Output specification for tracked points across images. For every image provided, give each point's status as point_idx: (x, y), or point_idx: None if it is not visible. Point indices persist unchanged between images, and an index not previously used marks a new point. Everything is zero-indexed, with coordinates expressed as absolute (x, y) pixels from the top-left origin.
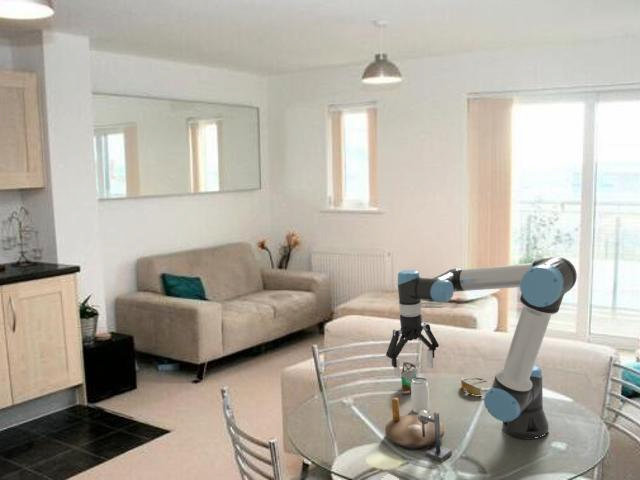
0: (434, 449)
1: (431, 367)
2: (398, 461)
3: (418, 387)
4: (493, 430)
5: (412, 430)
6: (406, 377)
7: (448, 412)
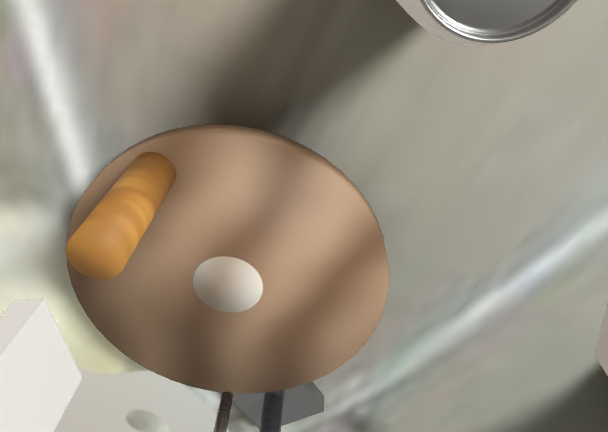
0: None
1: (602, 363)
2: (114, 364)
3: (431, 30)
4: None
5: (207, 305)
6: None
7: (573, 57)
